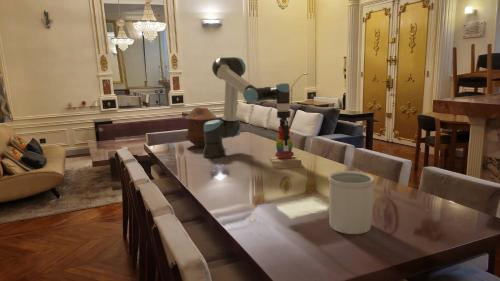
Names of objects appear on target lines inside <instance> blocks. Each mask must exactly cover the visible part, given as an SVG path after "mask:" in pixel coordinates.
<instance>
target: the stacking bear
mask: <svg viewBox="0 0 500 281" xmlns="http://www.w3.org/2000/svg"><path fill="white" fill-rule="evenodd" d="M290 128H291V127H290V125H288V132H289V134H291V130H290ZM277 129H278V130H277V132H278V136H277V139H276V143H275V149H276V152H275V154H274V156H277V157H280V158H288V157H292V156H293V155H295V154H294V152H293V150H292V149H293V141H292V138H291V136H290V135H289V139H288V149H289V151H284V147H283V140H282V139H284V137H283V129H282V126H280V125H279V126H278V128H277Z"/></svg>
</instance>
